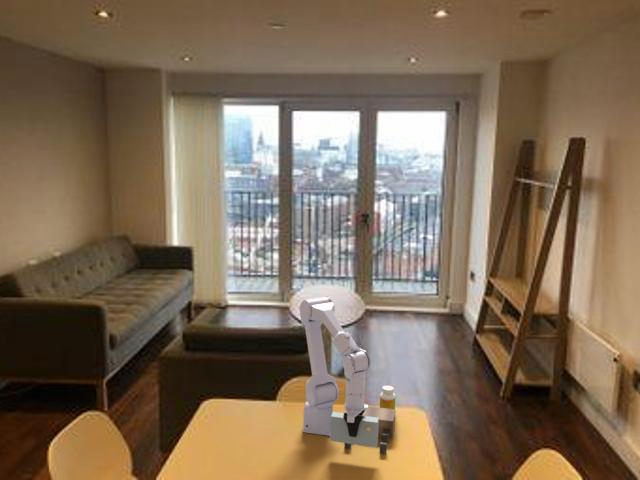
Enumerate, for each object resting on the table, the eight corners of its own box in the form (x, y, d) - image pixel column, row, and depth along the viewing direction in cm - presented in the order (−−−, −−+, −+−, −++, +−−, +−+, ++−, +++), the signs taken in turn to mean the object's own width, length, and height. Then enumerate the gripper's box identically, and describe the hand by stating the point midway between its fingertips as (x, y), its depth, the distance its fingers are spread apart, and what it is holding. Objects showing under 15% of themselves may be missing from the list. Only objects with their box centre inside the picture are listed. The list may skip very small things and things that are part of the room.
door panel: (329, 442, 165) (330, 418, 163) (332, 435, 169) (332, 411, 167) (375, 449, 162) (377, 424, 160) (377, 442, 166) (378, 417, 164)
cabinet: (341, 447, 172) (341, 429, 171) (350, 420, 188) (351, 404, 187) (389, 454, 168) (390, 436, 167) (394, 426, 185) (395, 409, 184)
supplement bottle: (394, 418, 190) (395, 392, 189) (378, 416, 191) (379, 390, 190) (395, 410, 196) (396, 385, 194) (380, 409, 197) (381, 383, 195)
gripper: (365, 403, 155) (363, 447, 158) (372, 382, 169) (370, 422, 171) (340, 400, 157) (339, 444, 159) (349, 379, 171) (348, 419, 173)
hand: (353, 433), depth 165 cm, fingers closed on door panel, 3 cm apart
